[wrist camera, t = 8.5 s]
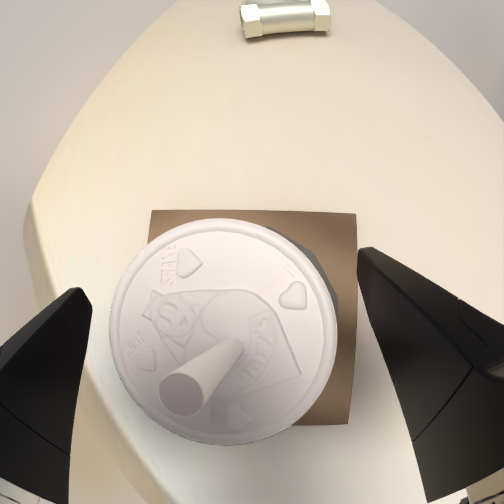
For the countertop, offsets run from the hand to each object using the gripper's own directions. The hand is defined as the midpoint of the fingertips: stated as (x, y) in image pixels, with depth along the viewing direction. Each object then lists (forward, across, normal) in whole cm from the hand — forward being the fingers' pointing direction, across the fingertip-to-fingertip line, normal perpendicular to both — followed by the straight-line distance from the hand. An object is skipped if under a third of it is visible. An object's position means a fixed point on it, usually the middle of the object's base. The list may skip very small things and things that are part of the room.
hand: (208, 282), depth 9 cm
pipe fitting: (+25, -7, -11) cm, 28 cm away
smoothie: (+5, 0, +7) cm, 9 cm away
